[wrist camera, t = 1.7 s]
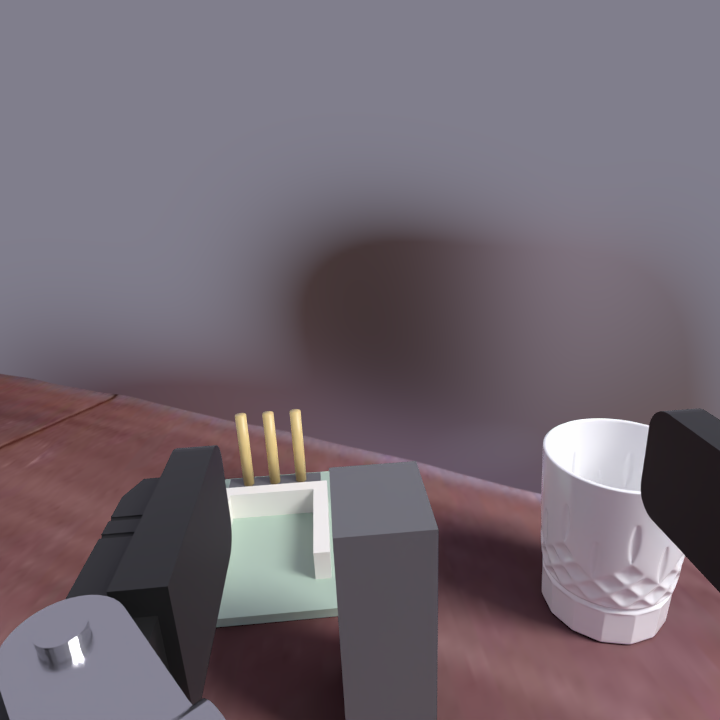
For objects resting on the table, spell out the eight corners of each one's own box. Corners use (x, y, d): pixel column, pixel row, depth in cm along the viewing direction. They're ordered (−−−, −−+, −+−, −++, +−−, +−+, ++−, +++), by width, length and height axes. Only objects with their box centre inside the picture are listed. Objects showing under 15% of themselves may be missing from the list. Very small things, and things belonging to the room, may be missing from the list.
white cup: (538, 543, 38) (549, 410, 35) (669, 570, 35) (695, 428, 32) (523, 631, 31) (536, 476, 28) (684, 674, 29) (720, 507, 25)
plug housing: (436, 749, 25) (438, 529, 21) (348, 759, 25) (332, 538, 21) (417, 656, 30) (415, 460, 26) (342, 663, 30) (328, 467, 26)
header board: (359, 614, 33) (353, 504, 30) (168, 631, 32) (145, 521, 30) (345, 476, 47) (340, 393, 44) (212, 486, 46) (199, 402, 44)
